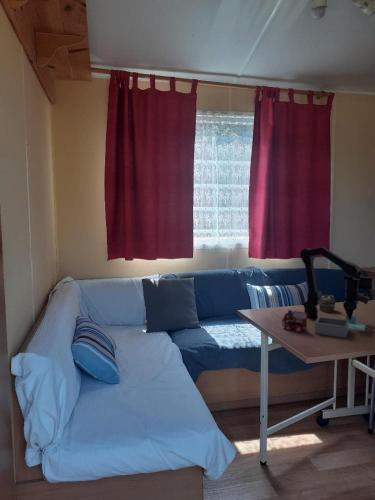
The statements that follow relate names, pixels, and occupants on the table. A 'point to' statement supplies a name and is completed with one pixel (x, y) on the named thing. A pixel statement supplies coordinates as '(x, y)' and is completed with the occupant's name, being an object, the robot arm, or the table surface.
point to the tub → (331, 327)
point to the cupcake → (327, 303)
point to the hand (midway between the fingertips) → (350, 317)
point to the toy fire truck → (295, 321)
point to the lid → (355, 324)
